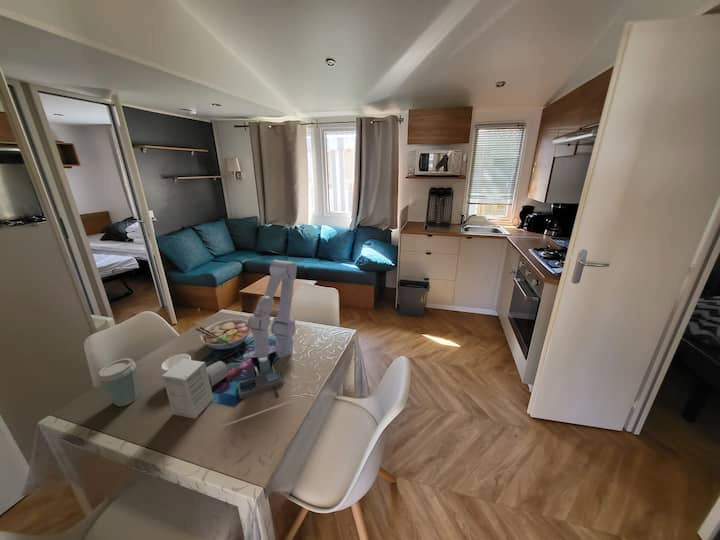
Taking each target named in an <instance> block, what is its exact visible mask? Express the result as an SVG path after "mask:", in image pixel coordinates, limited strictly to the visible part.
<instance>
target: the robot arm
mask: <svg viewBox="0 0 720 540" xmlns="http://www.w3.org/2000/svg"><path fill="white" fill-rule="evenodd" d="M297 269H298V267H297V265H296V263H295V261H289V260H288V261H287V260H279V259H272V261H271V262H270V265H269V269H268V270H269V274H270V277H269V280H268V283H267V286H266V288H265V289H266V290H265V293H264V295H262V296H261V297H260V298H259V301H258V302H257V305H256V309H255V310H254V313H253V314H251V315H250V316H249V318H248V320H247V321H248V327H249V328H250V329H251V332H250V333H251V334H252V339H253V346H254V347H253V348H254V350H251V351H249V352H247V353H245V354H242V355H243V360H244V362H247V361H248V360H251V362H252V364H253V365H254V367H257V369H258V372H260V368H259V360H258V358H265V357H267V356H268V358H269V361H270V368H271V369H272V364H273V363H274V362H275V360H276V359H275V358H276V356H277V358H279V359H280V358H283V357H287V356H291V355H293V354H296V353H297V352H296V350H295V347H294V343H293V336H294V335H295V333H296V331H297V329H296V320H295V319H294V317H292V315H291V310H292V309H291V308H292V301H293V291H294V282H295V280H296V279H297V278H296V277H297ZM280 285H281V286H280ZM279 286H280V287H281V288H280V297H279V307H278V314H277V316H275V317H274V318H273V319H272V323H271V312H272V310H273V307H274V304H275V299H274V296H275V294H276V292H277V290H278V289H279ZM270 323H271V326H270ZM269 326H270V332H271V334H272V335H273V336H274V338H275V343H276V344H275V345H270V341H269V339H270V338H269V331H268V328H269Z"/></svg>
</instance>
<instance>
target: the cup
mask: <svg viewBox="0 0 720 540" xmlns="http://www.w3.org/2000/svg"><path fill="white" fill-rule="evenodd" d="M183 359H187V360H192V357H191V356H190V355H189V354H186V353H181V354H176V355H173V356H171V357H169V358H167V359H165V360H164V361H163V362H162V364H161V365H160V367H161V371H162V372H163V374H165V373H166V372H167V371H168V370H170V369H171V368H172V367H174V366H175V365H176V364H177V363H179V362H180V361H181V360H183Z"/></svg>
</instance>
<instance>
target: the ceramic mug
mask: <svg viewBox="0 0 720 540" xmlns="http://www.w3.org/2000/svg"><path fill="white" fill-rule="evenodd" d="M206 369H207V373H208V377H209V382H210V386H211V388H212V387H214V386H215V385H217V384H218V383H219V382H221V381H222V380H223V379H225V378H226V377H227V376H228V375H229V373H230V372H229V367H228V365H227V364H226V363H225V362H224V361H222V360H220V361H219V360H218V361H216V362H214V363H211V364H210V365H209V366H206Z"/></svg>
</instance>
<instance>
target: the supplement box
mask: <svg viewBox="0 0 720 540" xmlns="http://www.w3.org/2000/svg"><path fill="white" fill-rule="evenodd" d="M206 367H207V365H206V361H199V360H193V359H191V360H187V359H183V360H181V361H180V362H179V363H177V364H176V365H175V366H174V367H172V368H171V369H170V370H168V371H167V372H166V373H163V374H162V375H161V377H162V382H163V384H164V388H165V390H166V391H165V392H166V393H167V397H168V401H169V405H170V407H171V411H172V414H173V415H175V416H180V417H184V418H190V419H197V418H198V417H199V415H201V413H202V412H203V411H204V410H205V409H206V408H207V407H208V406H209V405H210V403H212V402H213V399H214V396H213V391H212V387H211V386H210V382H209V377H208V373H207V369H206Z"/></svg>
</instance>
